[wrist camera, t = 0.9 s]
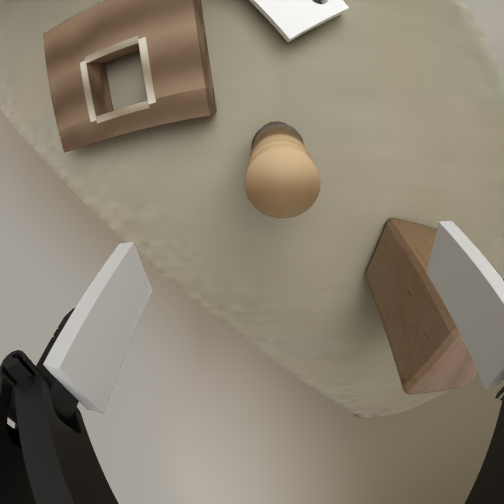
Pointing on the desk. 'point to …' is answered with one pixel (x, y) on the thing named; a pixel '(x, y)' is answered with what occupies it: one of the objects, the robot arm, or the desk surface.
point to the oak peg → (281, 172)
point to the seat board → (117, 45)
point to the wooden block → (416, 312)
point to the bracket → (298, 14)
